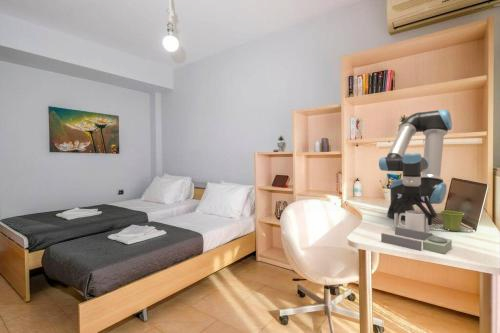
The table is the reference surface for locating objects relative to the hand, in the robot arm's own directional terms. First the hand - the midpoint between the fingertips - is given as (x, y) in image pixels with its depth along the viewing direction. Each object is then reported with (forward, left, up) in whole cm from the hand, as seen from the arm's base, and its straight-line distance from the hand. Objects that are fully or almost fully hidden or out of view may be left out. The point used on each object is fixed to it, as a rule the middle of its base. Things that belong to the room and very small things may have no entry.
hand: (411, 228), depth 125 cm
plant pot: (-19, +12, -2) cm, 23 cm away
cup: (0, 0, -2) cm, 2 cm away
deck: (+16, +8, -2) cm, 18 cm away
